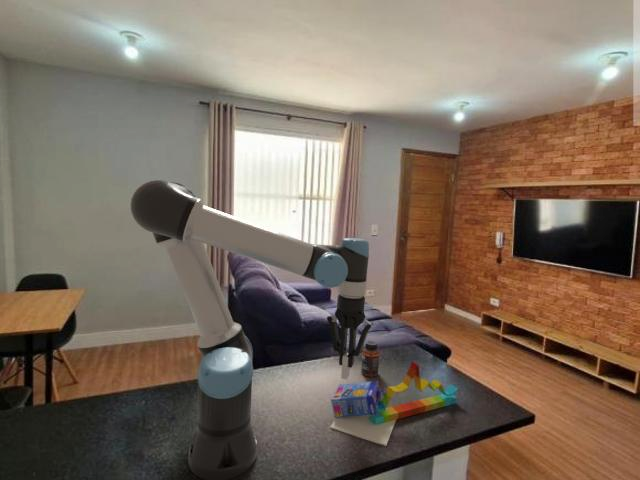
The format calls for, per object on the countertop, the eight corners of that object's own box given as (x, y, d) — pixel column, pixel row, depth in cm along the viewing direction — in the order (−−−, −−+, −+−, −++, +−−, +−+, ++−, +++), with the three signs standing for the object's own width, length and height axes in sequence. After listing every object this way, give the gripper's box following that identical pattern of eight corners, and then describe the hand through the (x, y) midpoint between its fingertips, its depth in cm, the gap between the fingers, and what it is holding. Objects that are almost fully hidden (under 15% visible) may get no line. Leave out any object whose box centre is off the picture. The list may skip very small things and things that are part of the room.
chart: (448, 397, 111) (454, 352, 109) (456, 403, 108) (463, 357, 106) (368, 417, 97) (374, 366, 95) (375, 425, 94) (381, 372, 92)
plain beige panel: (330, 427, 92) (330, 426, 92) (349, 398, 107) (349, 397, 107) (386, 446, 87) (386, 444, 87) (398, 412, 101) (398, 411, 101)
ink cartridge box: (338, 382, 106) (385, 379, 102) (342, 400, 106) (389, 397, 102) (330, 399, 96) (382, 395, 92) (334, 418, 96) (386, 416, 92)
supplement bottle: (380, 372, 125) (382, 342, 124) (374, 379, 120) (376, 347, 119) (365, 367, 128) (367, 338, 127) (358, 374, 123) (360, 343, 122)
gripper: (378, 295, 97) (371, 377, 99) (334, 288, 102) (328, 366, 104) (371, 301, 90) (363, 389, 92) (324, 293, 95) (318, 376, 97)
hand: (345, 376), depth 98 cm, fingers closed
